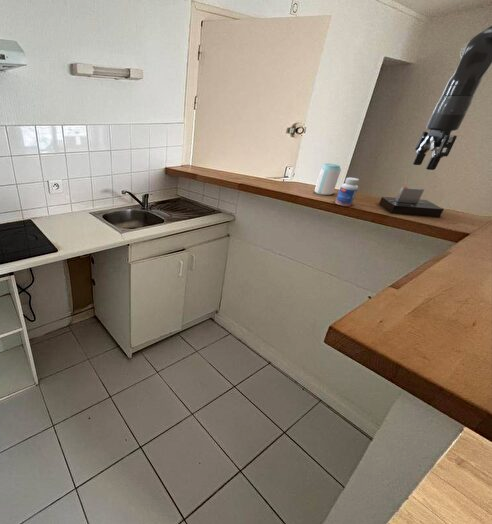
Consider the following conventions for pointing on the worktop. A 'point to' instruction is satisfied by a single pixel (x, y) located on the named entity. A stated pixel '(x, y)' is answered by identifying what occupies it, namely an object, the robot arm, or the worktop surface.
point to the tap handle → (409, 195)
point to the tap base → (411, 207)
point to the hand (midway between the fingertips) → (422, 167)
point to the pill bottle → (347, 192)
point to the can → (327, 179)
